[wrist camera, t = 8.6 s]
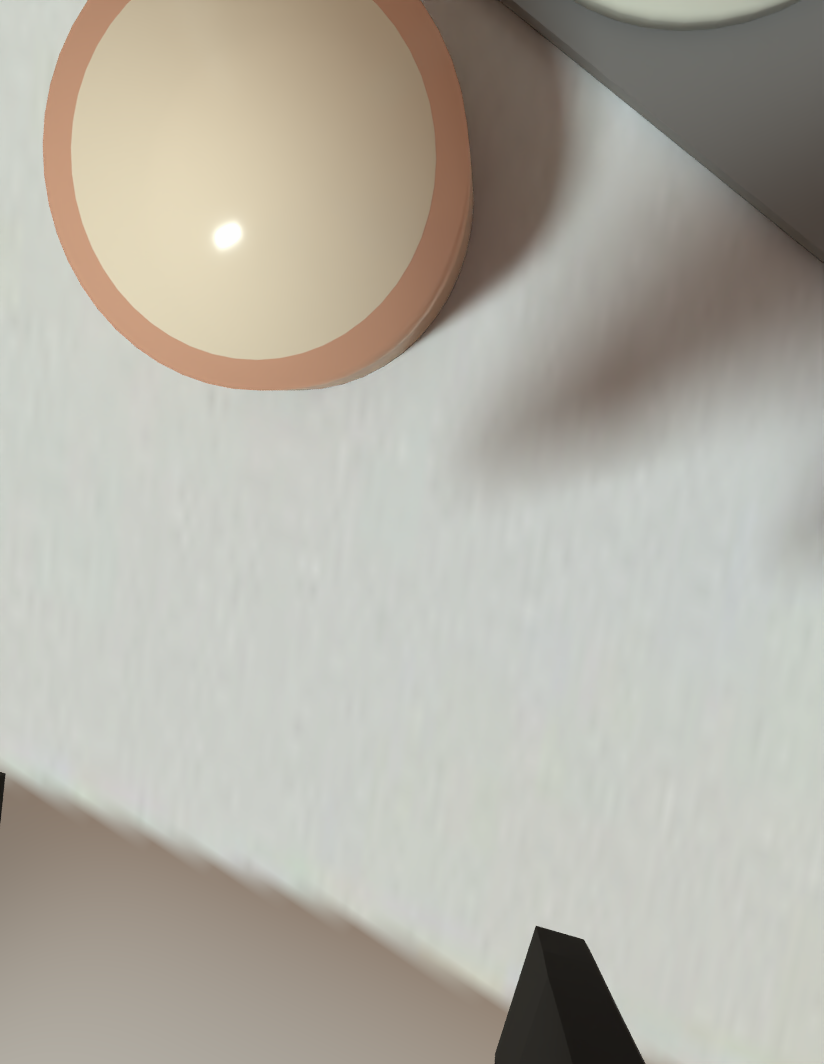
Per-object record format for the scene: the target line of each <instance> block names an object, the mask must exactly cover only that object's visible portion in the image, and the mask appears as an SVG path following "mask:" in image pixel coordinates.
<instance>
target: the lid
mask: <svg viewBox="0 0 824 1064" xmlns="http://www.w3.org/2000/svg"><path fill="white" fill-rule="evenodd" d="M573 1H575V2H576V3H578V4H580V5H581V6H583V7H585V8H586V9H589V10H591V11H593V12H596V13H598V14H601V15H603V16H606V17H608V18H610V19H613V20H615V21H619V22H623V23H627V24H631V25H635V26H640V27H644V28H649V29H660V30H672V31H692V30H709V29H717V28H722V27H727V26H732V25H737V24H742V23H746V22H749V21H752V20H755V19H758V18H761V17H764V16H767V15H770V14H773V13H776V12H778V11H781V10H783V9H785V8H787V7H789V6H791V5H793V4H795V3H797V2H799V1H801V0H573Z"/></svg>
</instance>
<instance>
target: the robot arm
mask: <svg viewBox="0 0 824 1064" xmlns="http://www.w3.org/2000/svg"><path fill="white" fill-rule="evenodd" d="M4 782H5V773H1V772H0V821H1V811H2V802H3V792H4ZM495 1064H645V1062H644V1060H643V1058H642V1056H641V1054H640V1052H639V1050H638V1048H637V1046H636V1044H635V1042H634V1040H633V1038H632V1036H631V1034H630V1032H629V1030H628V1028H627V1026H626V1024H625V1022H624V1020H623V1018H622V1016H621V1014H620V1012H619V1010H618V1008H617V1006H616V1004H615V1001H614V999H613V997H612V995H611V993H610V991H609V989H608V987H607V985H606V983H605V981H604V979H603V977H602V975H601V972H600V970H599V968H598V966H597V964H596V962H595V960H594V958H593V956H592V954H591V952H590V950H589V948H588V946H587V944H586V943H585V941H584V939H580V938H577V937H573V936H570V935H566V934H563V933H559V932H556V931H552V930H549V929H545V928H542V927H538V926H536V927H535V930H534V934H533V937H532V940H531V943H530V946H529V949H528V952H527V955H526V959H525V962H524V965H523V968H522V971H521V974H520V977H519V981H518V984H517V987H516V990H515V993H514V996H513V999H512V1003H511V1006H510V1009H509V1012H508V1015H507V1019H506V1021H505V1025H504V1028H503V1031H502V1034H501V1037H500V1040H499V1043H498V1046H497V1050H496V1053H495Z"/></svg>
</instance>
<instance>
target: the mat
mask: <svg viewBox="0 0 824 1064" xmlns="http://www.w3.org/2000/svg"><path fill="white" fill-rule="evenodd" d="M500 1H501V2H502V3H503V4H505V5H506V6H507V7H508V8H510V9H511V10H512V11H513V12H514V13H516V14H517V15H518V16H519V17H521V18H522V19H523V20H524V21H526V22H527V23H528V24H529V25H531V26H532V27H533V28H534V29H535V30H537V31H538V32H539V33H540V34H542V35H543V36H544V37H545V38H547V39H548V40H549V41H550V42H552V43H553V44H554V45H555V46H556V47H558V48H559V49H560V50H561V51H563V52H564V53H565V54H566V55H568V56H569V57H570V58H571V59H572V60H574V61H575V62H576V63H577V64H579V65H580V66H581V67H582V68H584V69H585V70H586V71H587V72H589V73H590V74H591V75H592V76H593V77H595V78H596V79H597V80H598V81H600V82H601V83H602V84H603V85H605V86H606V87H607V88H608V89H610V90H611V91H612V92H613V93H614V94H616V95H617V96H618V97H619V98H621V99H622V100H623V101H624V102H626V103H627V104H628V105H629V106H630V107H632V108H633V109H634V110H635V111H637V112H638V113H639V114H640V115H642V116H643V117H644V118H645V119H647V120H648V121H649V122H650V123H651V124H653V125H654V126H655V127H656V128H658V129H659V130H660V131H661V132H663V133H664V134H665V135H666V136H668V137H669V138H670V139H671V140H672V141H674V142H675V143H676V144H677V145H679V146H680V147H681V148H682V149H684V150H685V151H686V152H687V153H689V154H690V155H691V156H692V157H693V158H695V159H696V160H697V161H698V162H700V163H701V164H702V165H703V166H705V167H706V168H707V169H708V170H709V171H711V172H712V173H713V174H714V175H716V176H717V177H718V178H719V179H721V180H722V181H723V182H724V183H726V184H727V185H728V186H729V187H730V188H732V189H733V190H734V191H735V192H737V193H738V194H739V195H740V196H742V197H743V198H744V199H745V200H747V201H748V202H749V203H750V204H751V205H753V206H754V207H755V208H756V209H758V210H759V211H760V212H761V213H763V214H764V215H765V216H766V217H767V218H769V219H770V220H771V221H772V222H774V223H775V224H776V225H777V226H779V227H780V228H781V229H782V230H784V231H785V232H786V233H787V234H788V235H790V236H791V237H792V238H793V239H795V240H796V241H797V242H798V243H800V244H801V245H802V246H803V247H805V248H806V249H807V250H808V251H809V252H811V253H812V254H813V255H814V256H816V257H817V258H818V259H819V260H821V261H822V262H823V263H824V0H801V1H799V2H797V3H795V4H793V5H791V6H789V7H787V8H785V9H783V10H781V11H778V12H776V13H773V14H770V15H767V16H764V17H761V18H758V19H755V20H752V21H749V22H746V23H742V24H737V25H732V26H727V27H722V28H717V29H709V30H692V31H672V30H660V29H649V28H644V27H640V26H635V25H631V24H627V23H623V22H619V21H615V20H613V19H610V18H608V17H606V16H603V15H601V14H598V13H596V12H593V11H591V10H589V9H586V8H585V7H583V6H581V5H580V4H578V3H576V2H575V1H573V0H500Z"/></svg>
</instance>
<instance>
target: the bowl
mask: <svg viewBox="0 0 824 1064" xmlns="http://www.w3.org/2000/svg"><path fill="white" fill-rule="evenodd" d="M43 158H44V176H45V183H46V189H47V195H48V201H49V206H50V210H51V214H52V217H53V221H54V224H55V228H56V232H57V235H58V237H59V240H60V242H61V245H62V247H63V250H64V252H65V255H66V257H67V260H68V262H69V263H70V265H71V267H72V269H73V271H74V273H75V275H76V276H77V278H78V280H79V282H80V284H81V286H82V287H83V289H84V290H85V291H86V293H87V294H88V296H89V297H90V299H91V300H92V301H93V303H94V304H95V306H96V307H97V309H98V310H99V311H100V312H101V313H102V314H103V315H104V316H105V318H106V319H107V320H108V321H109V322H110V323H111V324H112V325H113V327H114V328H115V329H116V330H117V331H118V332H120V333H121V334H122V335H123V336H124V337H125V338H126V339H128V340H129V341H130V342H131V343H132V344H133V345H134V346H136V347H137V348H138V349H140V350H141V351H143V352H144V353H145V354H147V355H148V356H150V357H151V358H153V359H154V360H156V361H157V362H159V363H161V364H163V365H165V366H167V367H169V368H171V369H173V370H174V371H176V372H178V373H180V374H182V375H185V376H188V377H191V378H194V379H197V380H199V381H202V382H205V383H208V384H213V385H218V386H223V387H228V388H233V389H247V390H311V389H323V388H327V387H332V386H337V385H342V384H345V383H348V382H351V381H353V380H356V379H359V378H362V377H364V376H366V375H368V374H370V373H372V372H374V371H376V370H378V369H380V368H381V367H383V366H385V365H386V364H388V363H389V362H391V361H392V360H393V359H395V358H396V357H398V356H399V355H400V354H402V353H403V352H404V351H405V350H406V349H407V348H409V347H410V346H411V345H412V344H413V343H414V342H415V341H416V340H417V339H418V338H419V337H420V336H421V335H422V334H423V333H424V331H425V330H426V329H427V328H428V327H429V325H430V324H431V323H432V322H433V321H434V319H435V318H436V317H437V315H438V313H439V312H440V310H441V309H442V307H443V306H444V304H445V302H446V301H447V299H448V298H449V295H450V293H451V291H452V289H453V287H454V285H455V283H456V281H457V279H458V276H459V274H460V271H461V268H462V265H463V262H464V259H465V256H466V252H467V248H468V243H469V238H470V233H471V228H472V217H473V204H474V195H473V174H472V165H471V156H470V146H469V137H468V128H467V121H466V115H465V109H464V103H463V97H462V91H461V88H460V85H459V81H458V78H457V75H456V72H455V68H454V65H453V62H452V59H451V57H450V54H449V52H448V50H447V48H446V45H445V43H444V41H443V39H442V36H441V34H440V32H439V30H438V28H437V26H436V25H435V23H434V22H433V20H432V18H431V17H430V15H429V13H428V12H427V10H426V8H425V7H424V5H423V4H422V2H421V1H420V0H88V1H87V3H86V4H85V6H84V7H83V9H82V11H81V12H80V14H79V16H78V17H77V19H76V21H75V22H74V24H73V26H72V28H71V30H70V32H69V34H68V37H67V39H66V41H65V43H64V45H63V48H62V50H61V52H60V54H59V58H58V61H57V64H56V67H55V71H54V74H53V77H52V80H51V84H50V89H49V94H48V100H47V105H46V111H45V120H44V135H43Z"/></svg>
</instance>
